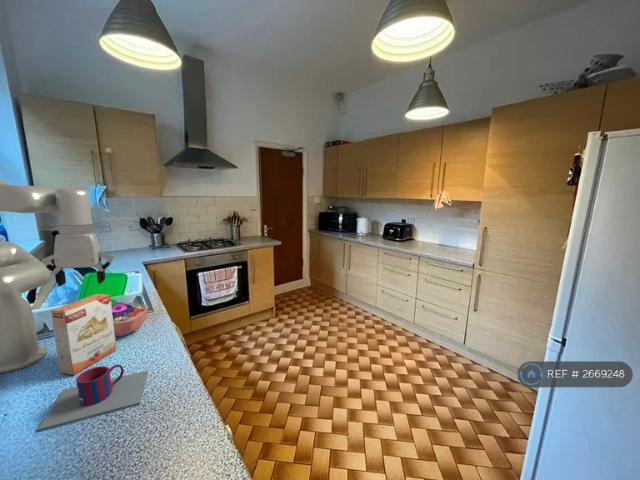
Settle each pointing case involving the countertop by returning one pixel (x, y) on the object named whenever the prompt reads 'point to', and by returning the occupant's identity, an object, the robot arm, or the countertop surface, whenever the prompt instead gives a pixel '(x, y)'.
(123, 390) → the rubber mat
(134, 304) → the cell model
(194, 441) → the countertop surface
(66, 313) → the cracker box
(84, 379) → the mug
